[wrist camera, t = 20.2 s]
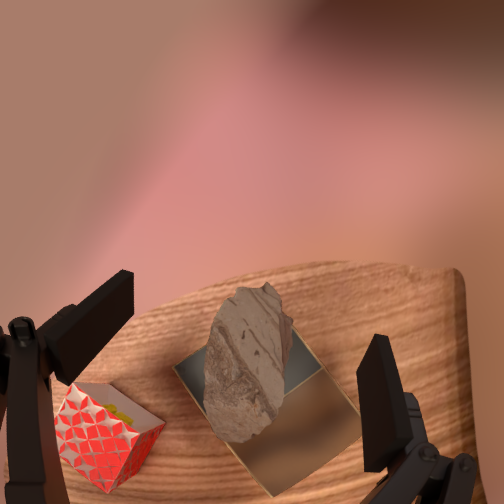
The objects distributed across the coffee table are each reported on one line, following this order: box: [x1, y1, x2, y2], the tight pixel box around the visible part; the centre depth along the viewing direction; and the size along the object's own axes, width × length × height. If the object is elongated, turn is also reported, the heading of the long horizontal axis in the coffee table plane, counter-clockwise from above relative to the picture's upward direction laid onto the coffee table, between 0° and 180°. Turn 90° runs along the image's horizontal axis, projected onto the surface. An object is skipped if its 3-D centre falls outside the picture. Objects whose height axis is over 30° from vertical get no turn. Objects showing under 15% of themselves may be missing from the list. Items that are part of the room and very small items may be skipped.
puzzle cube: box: [54, 382, 166, 494], centre depth 24 cm, size 8×8×8 cm
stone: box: [203, 282, 293, 443], centre depth 27 cm, size 15×9×10 cm
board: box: [172, 312, 362, 498], centre depth 29 cm, size 18×13×1 cm
